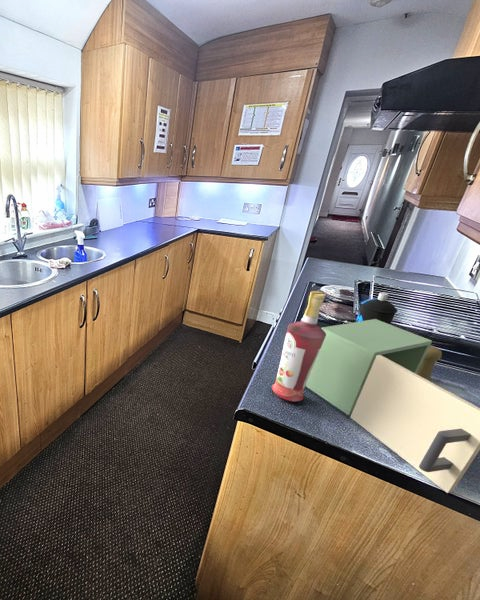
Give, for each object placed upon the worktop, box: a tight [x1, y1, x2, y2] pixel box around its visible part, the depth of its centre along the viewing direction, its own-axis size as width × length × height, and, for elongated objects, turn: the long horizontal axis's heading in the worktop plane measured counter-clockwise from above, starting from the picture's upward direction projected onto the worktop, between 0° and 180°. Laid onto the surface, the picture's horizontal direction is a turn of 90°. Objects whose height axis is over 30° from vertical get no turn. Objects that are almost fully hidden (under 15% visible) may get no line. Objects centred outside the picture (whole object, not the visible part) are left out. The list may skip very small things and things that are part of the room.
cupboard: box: [305, 319, 433, 416], centre depth 81 cm, size 12×19×17 cm, turn 107°
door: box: [349, 355, 480, 494], centre depth 63 cm, size 6×19×17 cm, turn 9°
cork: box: [417, 344, 443, 382], centre depth 86 cm, size 6×6×11 cm
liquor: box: [271, 290, 326, 403], centre depth 76 cm, size 7×7×28 cm
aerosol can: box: [354, 291, 398, 325], centre depth 98 cm, size 8×8×20 cm
